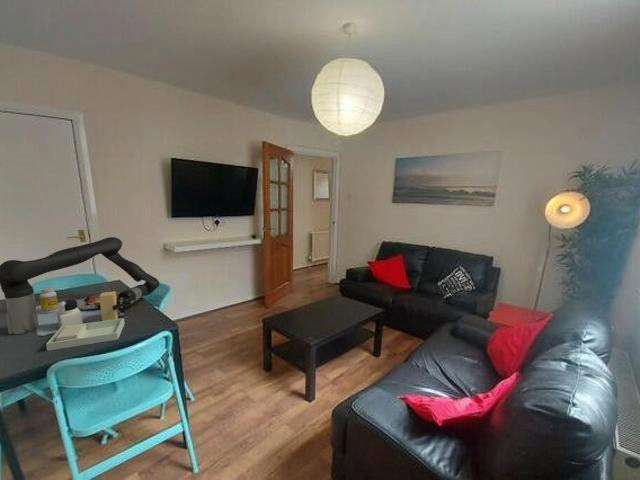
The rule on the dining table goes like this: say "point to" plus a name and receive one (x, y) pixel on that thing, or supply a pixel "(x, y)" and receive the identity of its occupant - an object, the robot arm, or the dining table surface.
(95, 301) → the food plate
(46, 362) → the dining table surface
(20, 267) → the robot arm
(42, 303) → the supplement bottle
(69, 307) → the container
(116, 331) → the tray
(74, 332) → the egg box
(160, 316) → the dining table surface
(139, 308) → the dining table surface
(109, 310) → the juice carton
